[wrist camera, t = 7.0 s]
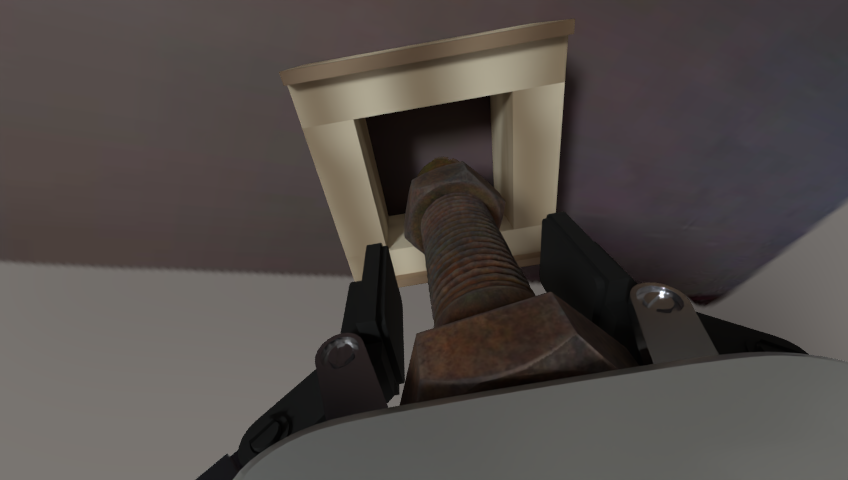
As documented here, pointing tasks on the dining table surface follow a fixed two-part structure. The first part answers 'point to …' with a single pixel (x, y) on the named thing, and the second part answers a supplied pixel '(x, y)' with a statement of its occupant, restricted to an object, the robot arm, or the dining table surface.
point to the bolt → (487, 299)
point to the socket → (425, 86)
